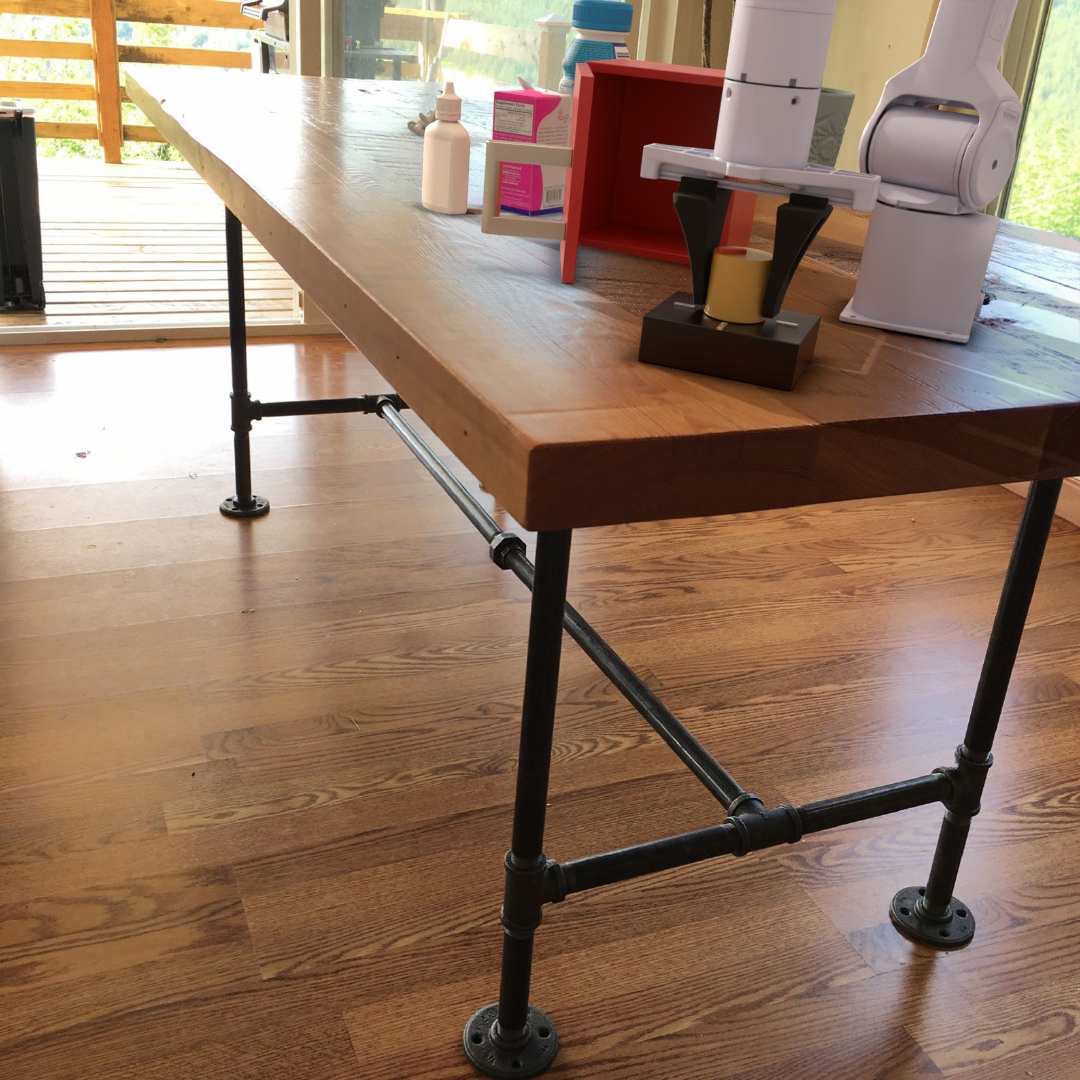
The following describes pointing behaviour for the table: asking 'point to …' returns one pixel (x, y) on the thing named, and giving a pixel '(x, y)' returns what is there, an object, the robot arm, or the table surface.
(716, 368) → the panel
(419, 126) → the soldier figure
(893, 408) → the table surface
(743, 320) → the knob
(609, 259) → the table surface
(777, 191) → the robot arm
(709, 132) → the cabinet
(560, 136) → the supplement box
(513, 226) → the red door with handle
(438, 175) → the eye dropper bottle
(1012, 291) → the table surface
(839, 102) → the grey green vase
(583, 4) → the beverage bottle
